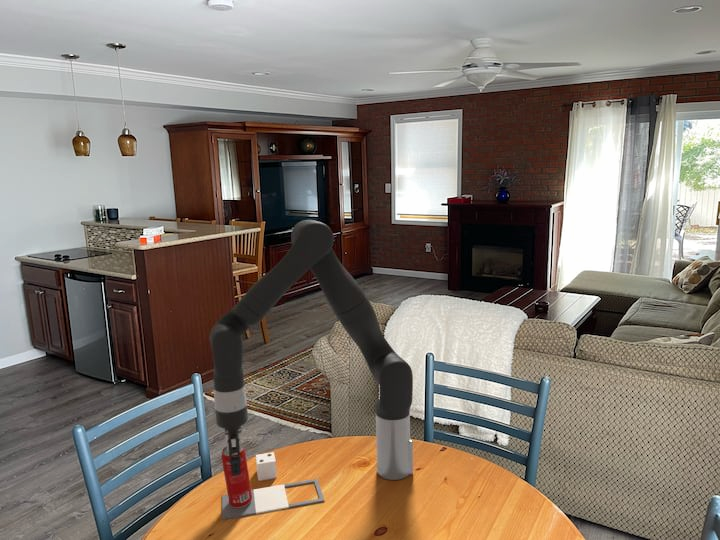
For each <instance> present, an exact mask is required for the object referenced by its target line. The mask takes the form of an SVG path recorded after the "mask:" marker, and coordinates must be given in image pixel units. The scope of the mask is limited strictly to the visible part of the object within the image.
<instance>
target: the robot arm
mask: <svg viewBox="0 0 720 540" xmlns="http://www.w3.org/2000/svg"><path fill="white" fill-rule="evenodd" d="M290 238H291V239H290V240H291V241H290V242H291V247H290V249H288V251H287V253H286V254H285V255H284V256H283V257H282V259H280V261H279V262H278V263H277V264H276V265H275V266H273V268H272V269H270V270H269V271H268V272H267V273H266V274H264V275H263V276H262V277H260V278H259V279H258V280H257V281H256V282H254V284H253V285H252V286H251V287H250V288H249V289H248V290H247V291H246V293H245V294H244V295H243V296H241V298H240V299H239V301H238V302H237V303H236V305H234V307H233V308H231V309H230V310H228V312H226V313H225V314H224V315H223V316H222V317H221V318H219V319H218V321H216V323H215V324H214V325H213V326H212V328H211V330H210V332H209V342H210V347H211V353H212V361H213V371H212V373H213V386H214V388H213V389H214V393H213V394H214V395H213V396H214V397H213V399H214V400H213V401H214V410H215V411H214V413H215V423H216V425H217V427H219V429H220V428H221V429H224V440H225V441H226V446H227V452H229V457H230V459H229V462H230V464H231V473H232V476H236V475H240V474H241V466H240V462H241V461H240V460H241V457H240V451H241V449H242V446H243V445H242V438H243V435H242V426H244V425H245V424H246V423H247V422H248V419H249V415H248V403H247V393H246V388H245V378H244V377H245V376H244V368H243V353H244V351H243V339H242V337H243V335H244V334H245V333H246V332H247V331H248V330H249V329H251V327H255V326H257V325H258V324H260V322H262V321H263V319H264V318H265V317H266V316H267V315H268V313H270V311H271V310H272V309H273V308H274V307H275V305H276V304H277V303H278V302H279V300H281V298H283V296H284V295H285V294H286V293H287V292H288V290H289V289H290V288H292V286H293V285H295V283H296V282H297V281H298V280H300V279H301V277H303V276H304V275H305V274H306V273H307V272H308V271H309V270H310V271H311V272H312V274H313V275H314V277H315V279H316V280H317V282H318V284H319V286H320V289H321V290H322V293H323V294H324V296H325V298H326V300H327V303H328V304H329V305H330V307H331V309H332V311H333V313H334V314H335V316H336V318H337V320H338V321H339V322H340V324H341V325H342V327H343V329H344V330H345V332H346V333H347V334H348V335H349V337H350V338H351V339H352V340H353V342H354V343H355V344H356V346H357V347H358V349H359V351H360V352H361V353H362V356H363V358H364V361H365V362H366V364H367V367H368V369H369V371H370V373H371V375H372V378H373V380H375V381H376V382H377V384H378V386H379V400H377V401H376V402H375V434H376V435H375V437H376V439H375V441H376V442H375V443H376V473H377V474H378V476H380V477H381V478H382V479H385V480H390V481H398V480H402V479H405V478H407V477H408V476H410V475H413V474H414V454H413V453H414V446H413V445H414V444H413V443H414V442H413V440H412V439H411V417H410V415H411V411H410V410H411V406H412V404H413V394H414V392H413V390H414V389H413V388H414V383H413V382H414V377H413V370H412V368H411V366H410V364H409V363H408V362H407V361H405V360H404V358H402V357H401V356H400V355H398V353H397V352H396V351H395V350H394V348H392V346H391V345H390V344H389V342H388V341H387V340H386V338H385V336H384V334H383V333H382V331H381V326H380V325H379V320H378V317H377V314H376V311H375V309H374V307H373V305H372V303H371V301H370V300H369V298H368V296H367V294H366V293H365V291H364V290H363V288H362V287H361V286H360V285H359V283H358V281H356V280H355V278H354V277H353V276H352V275H351V273H350V272H349V271H348V270H347V269H346V268H345V267H344V266H343V265H342V263H341V261H340V260H339V258H338V257H337V255H336V253H335V250H333V245H334V242H335V241H334V240H335V238H334V233H333V231H332V230H331V228H330V227H329V226H328V225H327V224H326V223H323V222H321V221H317V220H314V219H304V220H301V221H299V222H297V223H296V224H295V225H294V227H293V228H292V231H291V235H290ZM241 445H242V446H241ZM235 453H237V454H238V456H233V457H232V454H235Z"/></svg>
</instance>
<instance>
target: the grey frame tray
mask: <svg viewBox="0 0 720 540" xmlns="http://www.w3.org/2000/svg"><path fill="white" fill-rule="evenodd" d="M309 484H314V485H315V489H316V492H317V496H318V498H317V499H310V500H304V501H299V502H294V503H293V502H292V503H289V501H288V497H287V492H286V488H292V487H298V486H303V485H309ZM251 493H252V500H251V502H250V503H249V504H248V505H246V506H244V507H242V508H234V507H232V506H231V505H230V504H229V499H228V493H225V494H221V508H222V509H221V510H222V511H221V514H222V515H221V518H222V521H224V520H225V521H226V520H231V519H236V518H242V517H247V516H253V515H258V514H264V513H270V512H273V511H274V512H275V511H280V510H284V509H285V510H286V509H291V508H296V507H302V506H303V507H304V506H306V505H313V504H317V503H324V502H325V497H324V494H323V491H322V488H321V486H320V483H319V479H318V478H313V479H308V480H302V481H296V482H290V483H289V482H288V483H284V484H278V485H272V486H267V487H261V488H256V489H254V488H253V489H251Z"/></svg>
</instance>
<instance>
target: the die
mask: <svg viewBox="0 0 720 540" xmlns="http://www.w3.org/2000/svg"><path fill="white" fill-rule="evenodd" d="M255 462H256V475H257V480H258V482H259V481H260V482H261V481H264V480H265V481H266V480H272V479H277V460H276V457H275V452H274V451H271V452H266V453H265V452H264V453H260V454H259V453H258V454H255Z"/></svg>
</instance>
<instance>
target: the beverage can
mask: <svg viewBox="0 0 720 540" xmlns="http://www.w3.org/2000/svg"><path fill="white" fill-rule="evenodd" d="M241 446H242V449H241V451H240V457H241V460H240V461H241V462H240V466H241V474H240V475H236V476H232V473H231V464H230V462H229V459H230V457H229V452H227V445H226V446H225V447H224V448H223V449H222V452H221V462H222V468H223V474H224V480H225V486H226V492H227V493H226V494H228V499H229V504H230V505H231V506H232V507H234V508H242V507H244V506H246V505H248V504H249V503H250V502H251V500H252V493H251V490H252V489H251V482H250V475H249V469H248V468H249V467H248V461H247V455H246V450H245V448H244V447H243V445H242V444H241ZM233 456H238V454H237V453H235V454H232V457H233Z"/></svg>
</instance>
